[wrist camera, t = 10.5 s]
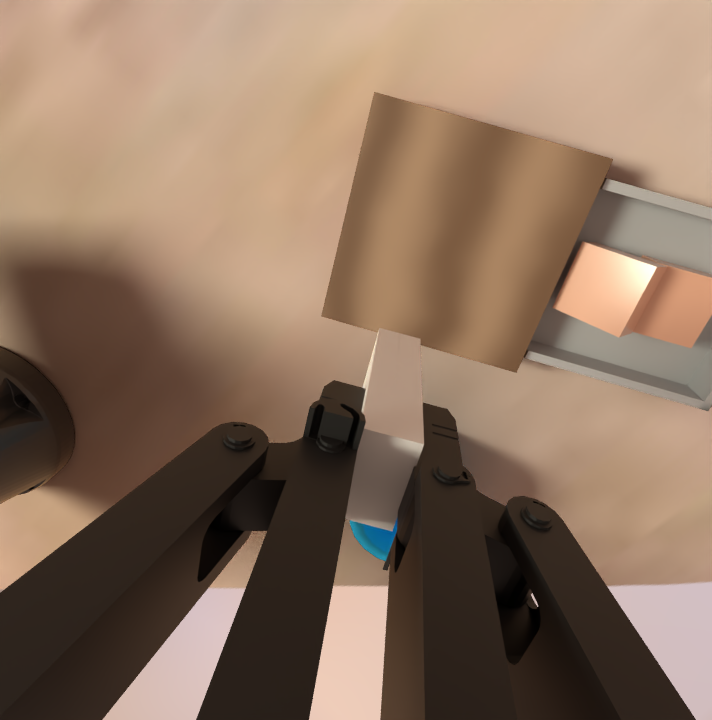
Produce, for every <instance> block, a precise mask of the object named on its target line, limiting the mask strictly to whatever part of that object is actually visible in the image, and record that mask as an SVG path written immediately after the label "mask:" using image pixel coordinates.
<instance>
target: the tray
mask: <svg viewBox="0 0 712 720" xmlns="http://www.w3.org/2000/svg"><path fill="white" fill-rule="evenodd" d="M582 241H584V242H597V243H600V244H603V245H606V246H609V247H611V248H614V249H617V250H620V251H623V252H626V253H629V254H632V255H635V256H638V257H642V255H645V256H649V257H652V258H656V259H659V260H663V261H667V262H670V263H674V264H677V265H681V266H684V267H688V268H692V269H695V270H699V271H702V272H706V273H709V274H712V208H710V207H706V206H703V205H699V204H696V203H692V202H688V201H685V200H681V199H678V198H674V197H671V196H667V195H664V194H660V193H657V192H653V191H649V190H646V189H642V188H639V187H635V186H632V185H628V184H625V183H621V182H618V181H614V180H610V179H607V178H604V181H603V183H602V185H601V187H600V189H599V192H598V194H597V196H596V198H595V200H594V203H593V205H592V207H591V209H590V211H589V214H588V216H587V218H586V220H585V222H584V225H583V227H582V229H581V231H580V233H579V236H578V238H577V240H576V242H575V244H574V247H573V249H572V251H571V253H570V255H569V258H568V260H567V262H566V264H565V266H564V269H563V271H562V273H561V275H560V277H559V280H558V282H557V284H556V286H555V288H554V291H553V293H552V295H551V297H550V299H549V302H548V304H547V306H546V308H545V311H544V313H543V315H542V317H541V319H540V322H539V324H538V326H537V328H536V330H535V333H534V335H533V337H532V339H531V341H530V344H529V346H528V348H527V350H526V352H525V355H524V357H525V358H526V359H529V360H533V361H536V362H540V363H543V364H546V365H550V366H553V367H557V368H560V369H564V370H567V371H571V372H574V373H578V374H581V375H585V376H588V377H592V378H595V379H598V380H602V381H605V382H609V383H612V384H616V385H619V386H623V387H626V388H630V389H633V390H637V391H640V392H643V393H647V394H650V395H654V396H657V397H661V398H664V399H668V400H671V401H675V402H678V403H682V404H685V405H688V406H692V407H695V408H699V409H702V410H706V411H708V410H709V409H710V408H711V406H712V315H711V317H710V319H709V320H708V322H707V324H706V325H705V327H704V328H703V330H702V332H701V333H700V335H699V337H698V338H697V340H696V341H695V343H694V345H693V346H692V348H688V347H684V346H681V345H677V344H674V343H670V342H667V341H663V340H660V339H656V338H653V337H649V336H645V335H642V334H638V333H635V332H632V333H631V334H628V335H625V336H622V337H617V336H614V335H612V334H610V333H608V332H606V331H603V330H601V329H599V328H597V327H594V326H592V325H590V324H588V323H585V322H583V321H581V320H579V319H577V318H574V317H572V316H570V315H568V314H565V313H563V312H561V311H559V310H556V309H554V308H552V307H553V305H554V303H555V300H556V298H557V296H558V294H559V292H560V289H561V287H562V285H563V283H564V281H565V279H566V276H567V274H568V272H569V270H570V268H571V265H572V263H573V261H574V259H575V257H576V254H577V252H578V250H579V248H580V246H581V243H582Z"/></svg>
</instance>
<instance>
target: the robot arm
mask: <svg viewBox="0 0 712 720" xmlns="http://www.w3.org/2000/svg"><path fill="white" fill-rule="evenodd" d="M73 447H74V428H73V424H72V420H71V417H70V414H69V412H68V409H67V407H66V405H65V403H64V401H63V400H62V398H61V396H60V395H59V394H58V392H57V391H56V389H55V388H54V387H53V386H52V384H51V383H50V382H49V381H48V380H47V379H46V378H45V377H44V376H43V375H42V374H41V373H40V372H39V371H38V370H37V369H36V368H34V367H33V366H32V365H30V364H29V363H28V362H26V361H25V360H23V359H22V358H20V357H19V356H17V355H15V354H13V353H11V352H9V351H7V350H5V349H3V348H0V504H1V503H3V502H5V501H6V500H8V499H10V498H12V497H14V496H16V495H20V494H24V493H28V492H30V491H32V490H35V489H37V488H39V487H40V486H42V485H43V484H45V483H46V482H47V481H49V480H50V479H51V478H52V477H53V476H54V475H55V474H57V473H58V472H59V471H60V470H61V469H62V468H63V467H64V466H65V465H66V464H67V462H68V461H69V459H70V457H71V454H72V452H73ZM397 517H398V518H397ZM345 519H347V520H351V521H355V522H358V523H362V524H366V525H370V526H373V527H377V528H381V529H385V530H388V531H393V528H394V525H395V522H396V520H397V532H396V534H395V537H394V540H393V543H392V545H391V548H390V551H389V553H388V556H387V559H386V561H385V564H384V567H383V570H388V567H389V564H390V572H389V588H388V606H387V621H386V637H385V654H384V670H383V687H382V704H381V720H696V719H695V718H694V716H693V715H692V713H691V712H690V710H689V709H688V707H687V706H686V704H685V703H684V701H683V700H682V698H681V697H680V695H679V694H678V692H677V691H676V689H675V688H674V686H673V685H672V683H671V682H670V680H669V679H668V677H667V676H666V674H665V673H664V671H663V670H662V668H661V667H660V665H659V664H658V662H657V661H656V660H655V658H654V656H653V655H652V653H651V652H650V650H649V649H648V647H647V646H646V645H645V643H644V641H643V640H642V638H641V637H640V635H639V634H638V632H637V631H636V629H635V628H634V626H633V625H632V623H631V622H630V620H629V619H628V617H627V616H626V614H625V613H624V611H623V610H622V609H621V607H620V606H619V604H618V602H617V601H616V599H615V598H614V596H613V595H612V593H611V592H610V591H609V589H608V587H607V586H606V584H605V583H604V581H603V580H602V578H601V577H600V575H599V574H598V572H597V571H596V569H595V568H594V566H593V565H592V563H591V562H590V560H589V559H588V557H587V556H586V554H585V553H584V551H583V550H582V548H581V547H580V545H579V544H578V542H577V541H576V539H575V538H574V536H573V535H572V533H571V532H570V530H569V529H568V527H567V526H566V524H565V523H564V521H563V520H562V519H561V518H560V517H559V515H558V514H557V513H556V512H555V511H554V510H552V509H551V508H550V507H548V506H547V505H546V504H544V503H542V502H540V501H538V500H536V499H533V498H529V497H525V496H519V497H513V498H512V499H510V500H509V501H508V503H507V505H506V506H504V505H502V504H500V503H498V502H496V501H494V500H492V499H490V498H488V497H486V496H485V495H483V494H481V493H480V492H479V491H477V490H476V484H475V481H474V478H473V476H472V474H471V473H470V472H469V471H468V470H467V469H466V468H465V467H463V466H462V460H461V453H460V446H459V441H458V433H457V427H456V420H455V419H454V417H453V416H452V415H451V413H450V412H449V411H448V409H444V408H441V407H437V406H433V405H429V404H426V403H423V399H422V370H421V340H420V339H419V338H416V337H412V336H408V335H404V334H401V333H397V332H393V331H389V330H386V329H382V328H379V331H378V335H377V338H376V342H375V345H374V349H373V352H372V356H371V359H370V363H369V367H368V370H367V374H366V377H365V381H364V384H363V388H361V387H357V386H354V385H350V384H346V383H342V382H339V381H335V380H334V381H332V382H331V383H329V384H327V385H326V386H324V389H323V392H322V394H321V397H320V400H319V401H316V402H314V403H313V404H312V405H311V406H310V409H309V413H308V417H307V422H306V426H305V430H304V435H303V437H302V438H301V439H299V440H297V441H294V442H289V443H269V442H268V437H267V436H266V434H265V433H264V432H263V431H262V430H261V429H259V428H257V427H256V426H253V425H250V424H247V423H239V422H231V423H225V424H221V425H219V426H217V427H215V428H213V429H212V430H211V431H210V432H208V433H207V434H206V435H204V436H203V437H202V438H200V439H199V440H198V441H197V442H195V443H194V444H193V445H191V446H190V447H189V448H187V449H186V450H185V451H184V452H182V453H181V454H180V455H178V456H177V457H176V458H175V459H173V460H172V461H171V462H169V463H168V464H167V465H165V466H164V467H163V468H162V469H160V470H159V471H158V472H156V473H155V474H154V475H152V476H151V477H150V478H149V479H147V480H146V481H145V482H143V483H142V484H141V485H139V486H138V487H137V488H136V489H134V490H133V491H132V492H130V493H129V494H128V495H127V496H125V497H124V498H123V499H121V500H120V501H119V502H117V503H116V504H115V505H114V506H112V507H111V508H110V509H108V510H107V511H106V512H104V513H103V514H102V515H101V516H99V517H98V518H97V519H95V520H94V521H93V522H91V523H90V524H89V525H88V526H86V527H85V528H84V529H82V530H81V531H80V532H79V533H77V534H76V535H75V536H73V537H72V538H71V539H69V540H68V541H67V542H66V543H64V544H63V545H62V546H60V547H59V548H58V549H56V550H55V551H54V552H53V553H51V554H50V555H49V556H47V557H46V558H45V559H43V560H42V561H41V562H40V563H38V564H37V565H36V566H34V567H33V568H32V569H31V570H29V571H28V572H27V573H25V574H24V575H23V576H21V577H20V578H19V579H18V580H16V581H15V582H14V583H12V584H11V585H10V586H8V587H7V588H6V589H5V590H3V591H2V592H1V593H0V720H102V719H103V718H104V717H105V716H106V714H107V713H108V712H109V710H110V709H111V708H112V707H113V705H114V704H115V703H116V702H117V700H118V699H119V698H120V697H121V696H122V694H123V693H124V692H125V691H126V689H127V688H128V687H129V686H130V684H131V683H132V682H133V681H134V680H135V678H136V677H137V676H138V674H139V673H140V672H141V671H142V669H143V668H144V667H145V666H146V665H147V663H148V662H149V661H150V660H151V658H152V657H153V656H154V655H155V653H156V652H157V651H158V650H159V648H160V647H161V646H162V645H163V643H164V642H165V641H166V639H167V638H168V637H169V636H170V635H171V633H172V632H173V631H174V630H175V629H176V627H177V626H178V625H179V624H180V622H181V621H182V620H183V619H184V617H185V616H186V615H187V614H188V612H189V611H190V610H191V609H192V607H193V606H194V605H195V604H196V602H197V601H198V600H199V599H200V597H201V596H202V595H203V594H204V592H205V591H206V590H207V589H208V587H209V586H210V585H211V584H212V582H213V581H214V580H215V579H216V578H217V576H218V575H219V574H220V573H221V571H222V570H223V569H224V568H225V566H226V565H227V564H228V563H229V561H230V560H231V559H232V558H233V556H234V555H235V554H236V553H237V551H238V550H239V549H240V548H241V546H242V545H243V544H244V543H245V541H246V540H247V539H248V538H249V536H250V533H251V531H267V533H266V536H265V539H264V541H263V544H262V547H261V549H260V552H259V555H258V557H257V560H256V563H255V565H254V568H253V571H252V573H251V576H250V579H249V581H248V584H247V586H246V589H245V592H244V594H243V597H242V600H241V603H240V605H239V608H238V610H237V613H236V616H235V618H234V622H233V624H232V626H231V629H230V632H229V634H228V637H227V640H226V642H225V645H224V647H223V650H222V653H221V655H220V658H219V661H218V663H217V666H216V669H215V671H214V674H213V677H212V679H211V682H210V685H209V687H208V690H207V693H206V695H205V698H204V701H203V703H202V706H201V709H200V711H199V714H198V716H197V719H196V720H309V716H310V710H311V704H312V699H313V694H314V688H315V682H316V677H317V671H318V666H319V660H320V655H321V649H322V644H323V638H324V633H325V627H326V622H327V616H328V611H329V605H330V599H331V594H332V588H333V583H334V577H335V572H336V566H337V561H338V555H339V550H340V544H341V539H342V533H343V528H344V522H345ZM532 593H533V595H534V597H535V599H536V601H537V603H538V607H537V605H536V604H535V603H534V601H533V599H532V597H531V594H532Z"/></svg>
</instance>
